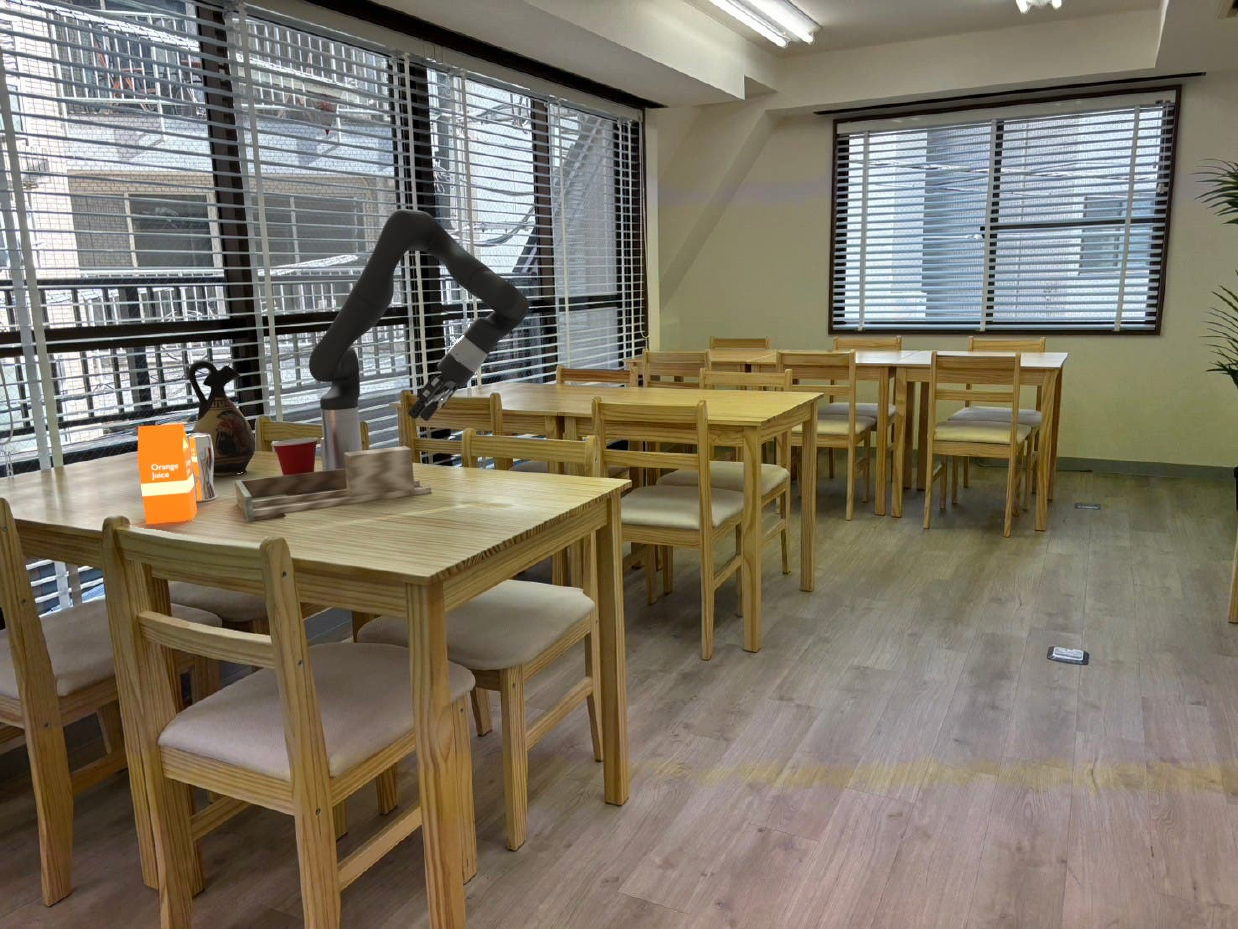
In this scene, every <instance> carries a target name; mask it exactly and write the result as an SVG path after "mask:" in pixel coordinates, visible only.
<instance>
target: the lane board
mask: <svg viewBox="0 0 1238 929" xmlns="http://www.w3.org/2000/svg"><path fill="white" fill-rule="evenodd" d="M234 486H235V494H236V502H237V505H238V507H239V509H240V511H241V512H242V514H243V516H244V517H245V519H246V521H247V522H253V521H260V520H268V519H275V518H282V517H283V518H284V517H287V515H286V514H288V513H293V512H301V511H308V510H317V509H323V508H324V509H325V508H331V507H338V506H339V507H340V506H345V505H353V504H361V503H368V502H376V501H383V500H384V501H385V500H389V499H391V500H392V499H399V498H406V497H412V496H420V495H429V494H432V487H430V486H428V487H427V486H426V487H423V486H421V483H420V480H419V479H417V480H414V489H410V490H403V491H395V492H387V493H380V494H372V495H364V496H357V497H348V495H347V483H346V472H345V468H344V469H335V470H326V471H323V470H319V471H314V472H309V473H300V474H292V475H283V474H282V475H278V476H277V475H274V476H268V477H267V476H266V477H259V478H251V479H243V480H242V479H239V480H234ZM331 488H335V489H336V491H328V492H320V493H312V494H304V495H300V494H299V492H307V491H315V490H323V489H331ZM283 494H286V495H287V496H288V497H280V498H273V499H265V500H257V501H252V498H259V497H267V496H275V495H283Z"/></svg>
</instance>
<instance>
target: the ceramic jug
mask: <svg viewBox="0 0 1238 929" xmlns="http://www.w3.org/2000/svg"><path fill="white" fill-rule="evenodd" d="M203 369H207V370H209V371H210V373H209V374H208V375H207V376H206V377H205V379H204V380H203V382H202V385H203V386H206V387H210V390H209V391H210V392H209V395H208V397H207V398H206V396H205V395H204V393H203V391H202V389H201V387H200V385H199V383H198V381H197V376H196V373H197V372H198V371H199V370H203ZM187 374H188V379H189V383H190V385H191V387H192V389H193V391H194V393H195V396H196V398H197V399H198V401H199V405H198V414H197V419H196V421H195V424H194V426H193V429H192V431H191V434H194V433H210V434H211V439H212V444H213V450H214V472H213V476H218V477H226V476H225V475H228V476H234V475H233V474H237V473H241V472H245V471H246V470H247V467H248V465H249V463H250V462H251V460H252V458H253V456H254V455H255V451H256V439H255V435H254V432H253V430H252V427H251V425H250V423H249V422H248V420H247V418H246V417H245V416H244V414H243V413H242V412H241V410H240V409H239V408H238V407H237V406H236V405H235V403H234V402H233V401H232V400H231V399H230V398H229V396H228V395H227V392H226V390H225V386H226V385H227V384H229V383H230V382H233V381H234V380H236V379H238V378H240V377H241V375H240V374H239V372H237V371H236V370H234V369H233V368H231V366H229V365H226V364H225V365H223V367H222V368H220V369H219V370H218V369H217V367H216V365H214V364H213V363H212V362H210V361H208V360H197V361H194V362H193V363H192V364H191V365H190V366H189V369H188V372H187ZM245 473H246V472H245Z"/></svg>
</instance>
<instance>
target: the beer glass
mask: <svg viewBox="0 0 1238 929" xmlns="http://www.w3.org/2000/svg"><path fill="white" fill-rule="evenodd" d="M186 437H187V441H188V444H189V449H190V457H191V465H192V473H193V480H194V490H195V498H196V503H200V502H208V501H212V500H216V499H217V498H218V495H217V493H216V490H215V486H214V485H215V484H214V475H213V472H214V450H213V444H212V439H211V434H210V433H194V434H192V433H188V434H187V433H186ZM215 498H216V499H215Z"/></svg>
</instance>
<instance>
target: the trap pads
mask: <svg viewBox="0 0 1238 929" xmlns="http://www.w3.org/2000/svg"><path fill="white" fill-rule="evenodd" d="M328 491H336V489H335V488H331V489H323V490H315V491H307V492H299V494H300V495H304V494H312V493H320V492H328Z"/></svg>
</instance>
